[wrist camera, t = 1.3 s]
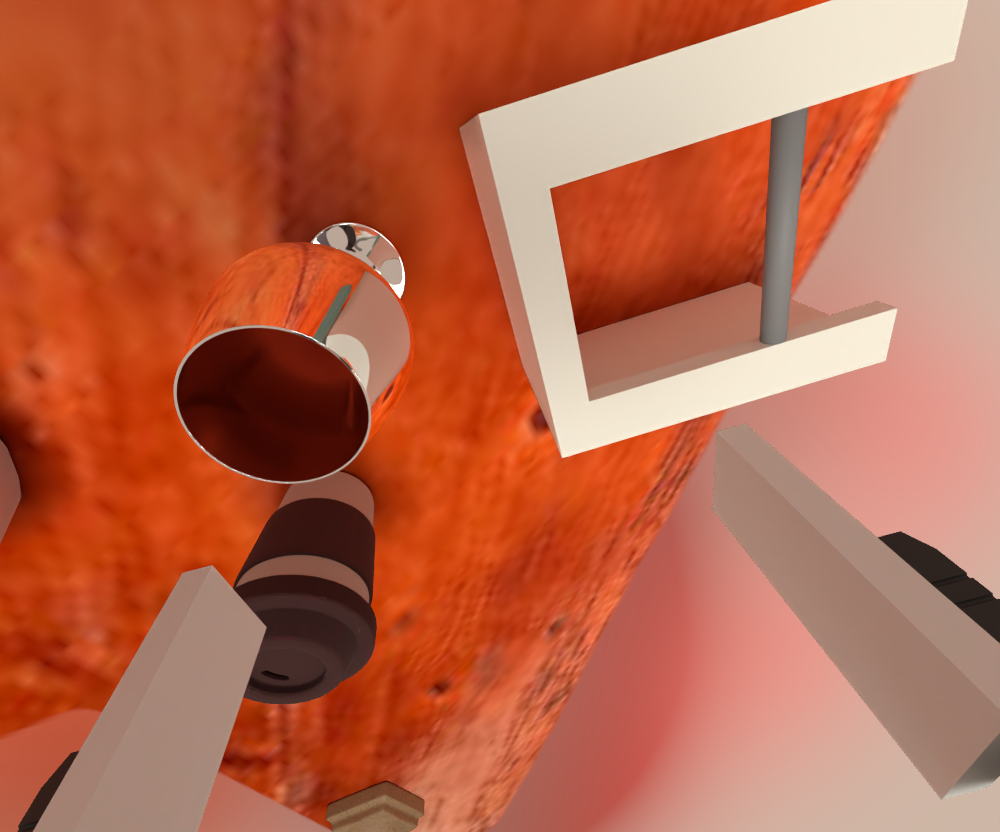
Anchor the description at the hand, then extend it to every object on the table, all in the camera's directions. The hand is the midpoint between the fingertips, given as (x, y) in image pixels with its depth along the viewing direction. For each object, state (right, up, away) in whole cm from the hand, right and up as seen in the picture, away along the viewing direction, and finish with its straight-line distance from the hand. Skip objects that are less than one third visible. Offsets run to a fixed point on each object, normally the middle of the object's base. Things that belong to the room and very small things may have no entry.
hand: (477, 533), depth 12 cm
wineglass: (-9, +13, +18) cm, 23 cm away
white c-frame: (+9, +16, +18) cm, 26 cm away
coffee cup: (-14, -4, +27) cm, 31 cm away
